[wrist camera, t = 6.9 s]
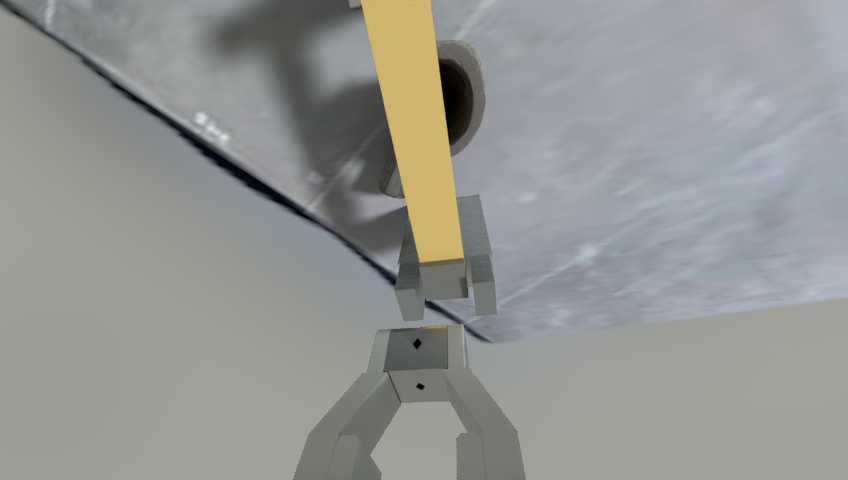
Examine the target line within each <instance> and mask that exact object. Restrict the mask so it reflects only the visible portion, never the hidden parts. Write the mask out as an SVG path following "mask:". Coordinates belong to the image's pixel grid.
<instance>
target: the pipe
mask: <svg viewBox="0 0 848 480" xmlns="http://www.w3.org/2000/svg"><path fill="white" fill-rule="evenodd" d="M436 48H437V56H438V63H439V71H440V79H441V86H442V94H443V102H444V109H445V117H446V124H447V132H448V140H449V147H450V155H451V157H452V156H454V155H456V154H458V153H459V152H461V151H462V150H463V149H464V148H465V147H466V146H467V145H468V144H469V143H470V141H471V140H472V139H473V137H474V136H475V134H476V132H477V130H478V128H479V126H480V124H481V122H482V119H483V114H484V109H485V102H486V96H485V84H484V78H483V71H482V66H481V62H480V60H479V58H478V56H477V54H476V52H475V50H474V48H473V47H472V46H471V45H470V44H468V43H467V42H464V41H458V40H450V41H436ZM385 117H386V122H387V126H388V129H389V131H390V128H389V124H388V119H387V115H386V110H385ZM390 134H391V132H390ZM378 188H379V189H380V191H381V192H382V193H384V194H386V195H388V196H391V197H393V198H400V199H402V198H405V195H404V190H403V186H402V181H401V177H400V172H399V168H398V164H397V159H396V155H395V150H394V148H393V150H392V153H391V155H390V157H389V159H388V162H387V164H386V166H385V168H384V170H383V173H382V175H381V177H380V179H379V182H378Z"/></svg>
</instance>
